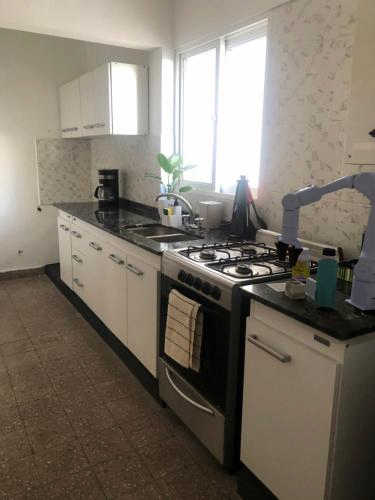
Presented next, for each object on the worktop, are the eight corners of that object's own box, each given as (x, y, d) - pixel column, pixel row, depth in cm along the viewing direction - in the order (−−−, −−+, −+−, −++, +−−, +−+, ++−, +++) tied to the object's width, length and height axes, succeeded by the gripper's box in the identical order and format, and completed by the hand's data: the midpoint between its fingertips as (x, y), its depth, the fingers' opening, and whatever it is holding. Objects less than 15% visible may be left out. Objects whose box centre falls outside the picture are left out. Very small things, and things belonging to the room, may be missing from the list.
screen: (321, 300, 145) (323, 283, 144) (314, 300, 144) (316, 283, 143) (309, 293, 153) (310, 277, 151) (302, 293, 152) (304, 277, 150)
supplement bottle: (288, 279, 170) (291, 248, 167) (297, 276, 174) (300, 246, 172) (302, 282, 165) (305, 251, 162) (312, 280, 170) (315, 249, 167)
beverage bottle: (338, 310, 135) (345, 250, 131) (320, 312, 133) (326, 251, 129) (326, 304, 141) (332, 246, 137) (309, 305, 139) (314, 246, 135)
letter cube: (304, 298, 147) (305, 284, 146) (291, 299, 145) (293, 285, 144) (297, 294, 151) (298, 280, 150) (284, 294, 150) (285, 280, 149)
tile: (299, 290, 155) (299, 289, 155) (277, 292, 152) (277, 290, 152) (286, 283, 163) (287, 282, 163) (265, 284, 161) (266, 283, 161)
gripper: (270, 223, 157) (268, 259, 159) (290, 230, 143) (286, 269, 146) (287, 223, 159) (284, 258, 161) (308, 230, 145) (304, 268, 148)
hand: (286, 263), depth 154 cm, fingers open, 7 cm apart
